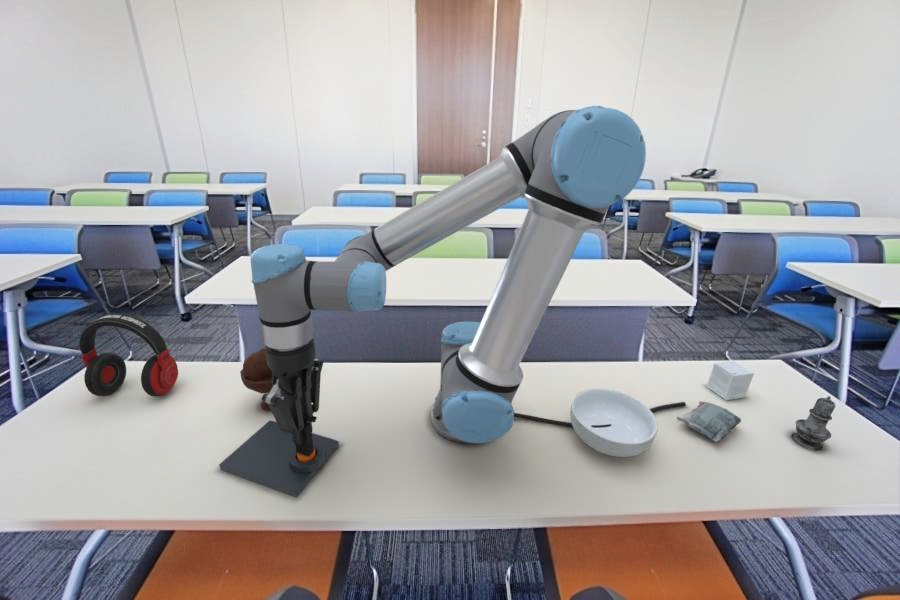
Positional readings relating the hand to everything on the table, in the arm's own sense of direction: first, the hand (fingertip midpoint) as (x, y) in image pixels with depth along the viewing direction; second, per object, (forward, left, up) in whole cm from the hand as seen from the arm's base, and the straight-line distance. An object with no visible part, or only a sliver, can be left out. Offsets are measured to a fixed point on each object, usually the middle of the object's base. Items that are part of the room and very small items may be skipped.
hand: (305, 451), depth 74 cm
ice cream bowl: (+19, -13, -4) cm, 23 cm away
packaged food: (-75, -41, -4) cm, 86 cm away
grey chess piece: (-95, -44, -4) cm, 105 cm away
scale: (+6, 0, -4) cm, 7 cm away
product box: (-83, -58, -4) cm, 101 cm away
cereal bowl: (-54, -29, -4) cm, 61 cm away
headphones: (+51, -5, -4) cm, 51 cm away
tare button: (0, 0, -2) cm, 2 cm away
